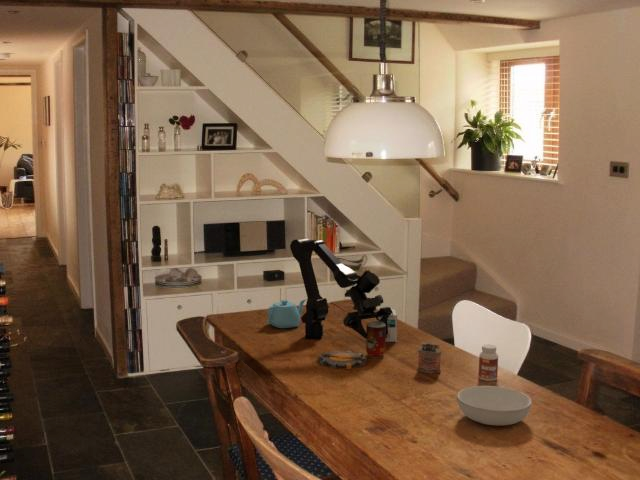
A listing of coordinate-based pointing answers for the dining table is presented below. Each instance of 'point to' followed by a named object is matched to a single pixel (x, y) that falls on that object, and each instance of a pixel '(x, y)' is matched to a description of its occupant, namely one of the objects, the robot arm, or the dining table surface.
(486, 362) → the pill bottle
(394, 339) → the light bulb box
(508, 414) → the serving bowl
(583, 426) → the dining table surface
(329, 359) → the sprocket plate
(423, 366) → the lighter
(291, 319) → the teapot
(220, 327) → the dining table surface
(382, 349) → the soda can
